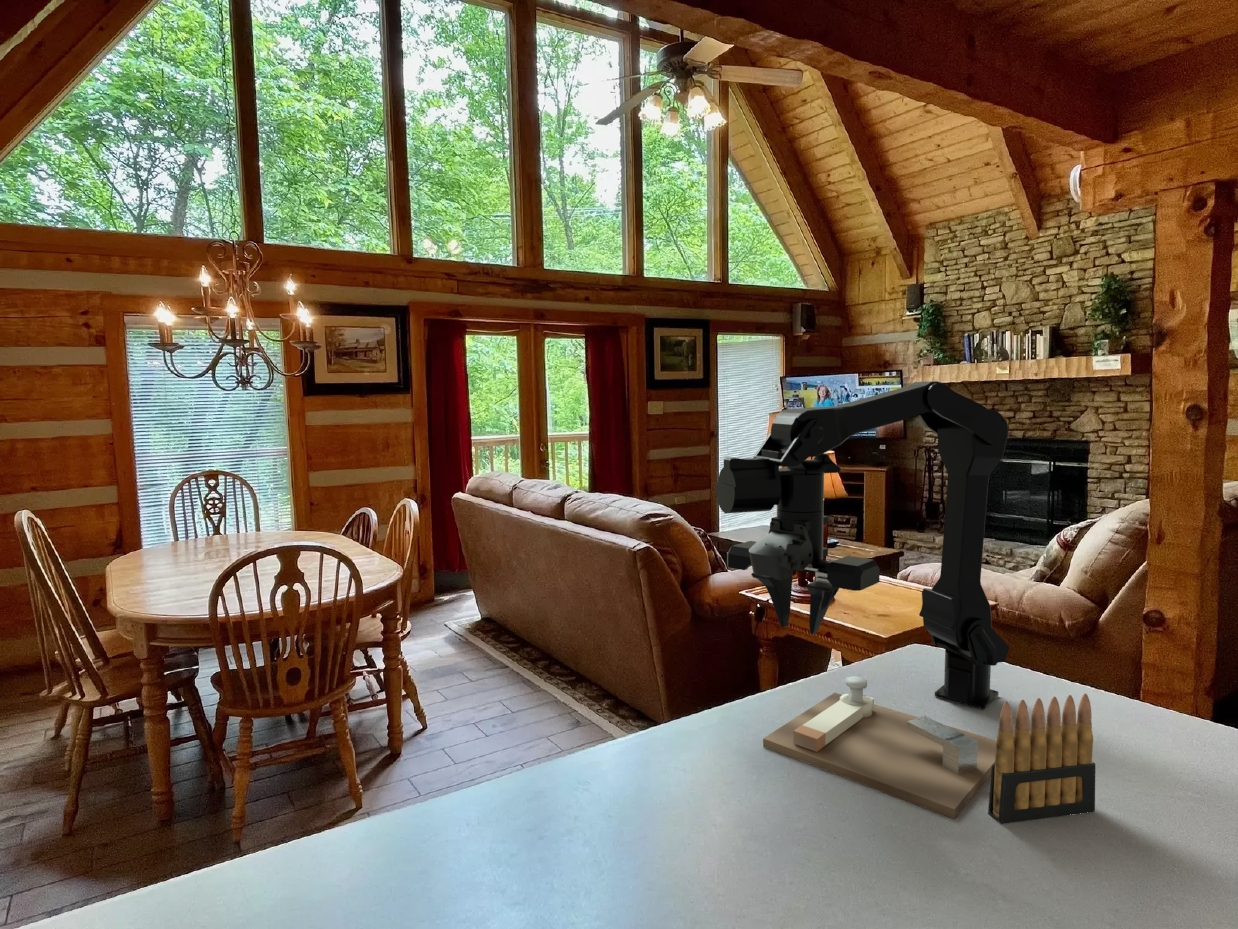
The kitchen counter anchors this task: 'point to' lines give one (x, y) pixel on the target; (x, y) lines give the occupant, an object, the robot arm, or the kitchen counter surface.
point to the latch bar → (836, 717)
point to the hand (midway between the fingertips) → (798, 630)
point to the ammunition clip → (1043, 763)
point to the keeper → (948, 744)
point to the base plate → (890, 758)
